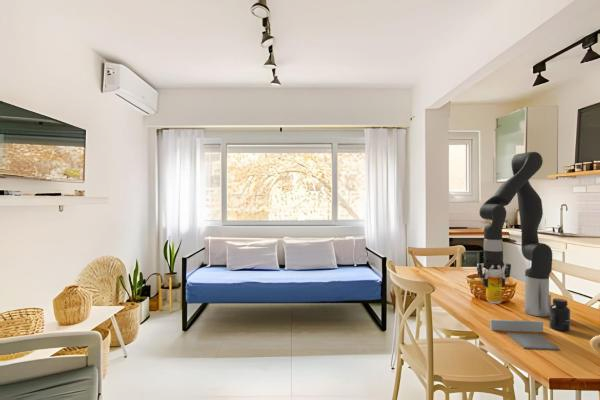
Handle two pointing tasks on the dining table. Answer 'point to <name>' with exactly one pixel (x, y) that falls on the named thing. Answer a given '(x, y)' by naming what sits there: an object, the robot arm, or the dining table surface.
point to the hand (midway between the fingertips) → (493, 286)
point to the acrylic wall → (516, 325)
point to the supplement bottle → (559, 315)
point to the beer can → (494, 286)
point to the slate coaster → (532, 341)
